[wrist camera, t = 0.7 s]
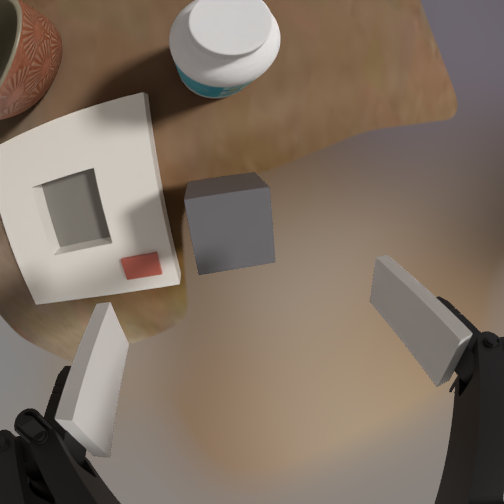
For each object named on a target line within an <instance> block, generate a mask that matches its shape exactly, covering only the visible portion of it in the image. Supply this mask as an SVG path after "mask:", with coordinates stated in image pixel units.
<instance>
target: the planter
mask: <svg viewBox="0 0 504 504" xmlns="http://www.w3.org/2000/svg"><path fill="white" fill-rule="evenodd" d="M61 58H62V41H61V37H60V34H59V32H58V30H57V28H56V27H55V26H54V24H53V23H52V22H51V21H50V20H49V19H47V18H46V17H45V16H44V15H42V14H41V13H40V12H38V11H37V10H35V9H33V8H32V7H30V6H29V5H27V4H25V3H24V2H22V1H20V0H0V120H3V119H7V118H10V117H13V116H16V115H18V114H20V113H23V112H24V111H26V110H28V109H29V108H31V107H32V106H33V105H34V104H36V103H37V102H38V101H39V100H40V99H41V98H42V97H43V95H44V94H45V93H46V92H47V90H48V89H49V87H50V86H51V84H52V82H53V81H54V79H55V77H56V74H57V72H58V69H59V66H60V62H61Z"/></svg>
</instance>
